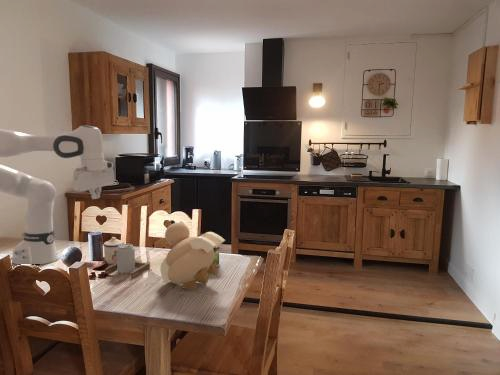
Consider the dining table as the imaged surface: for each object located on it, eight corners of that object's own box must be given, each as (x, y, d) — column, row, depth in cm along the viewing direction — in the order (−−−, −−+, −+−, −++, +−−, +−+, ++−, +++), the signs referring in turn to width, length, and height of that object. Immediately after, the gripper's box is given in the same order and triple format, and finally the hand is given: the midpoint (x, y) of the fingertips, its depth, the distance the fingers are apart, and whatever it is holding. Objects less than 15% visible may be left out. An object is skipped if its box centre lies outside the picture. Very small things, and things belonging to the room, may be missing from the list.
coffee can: (223, 265, 177) (223, 236, 175) (204, 269, 171) (204, 239, 169) (212, 259, 185) (212, 231, 184) (193, 263, 179) (193, 234, 178)
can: (130, 275, 163) (129, 248, 161) (114, 273, 164) (113, 247, 162) (137, 269, 170) (137, 243, 169) (122, 268, 171) (121, 242, 170)
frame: (104, 274, 163) (104, 268, 162) (122, 265, 175) (122, 259, 175) (133, 278, 159) (133, 272, 159) (149, 268, 171) (149, 263, 171)
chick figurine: (204, 200, 158) (172, 210, 137) (244, 255, 153) (218, 273, 133) (160, 240, 169) (125, 254, 148) (196, 292, 165) (165, 314, 144)
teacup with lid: (113, 265, 175) (112, 241, 173) (99, 262, 179) (99, 238, 177) (132, 258, 185) (132, 235, 183) (119, 255, 189) (119, 232, 188)
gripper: (80, 168, 144) (83, 204, 146) (115, 162, 163) (118, 194, 165) (67, 168, 146) (70, 203, 148) (103, 162, 165) (106, 193, 167)
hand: (95, 198), depth 157 cm, fingers closed
